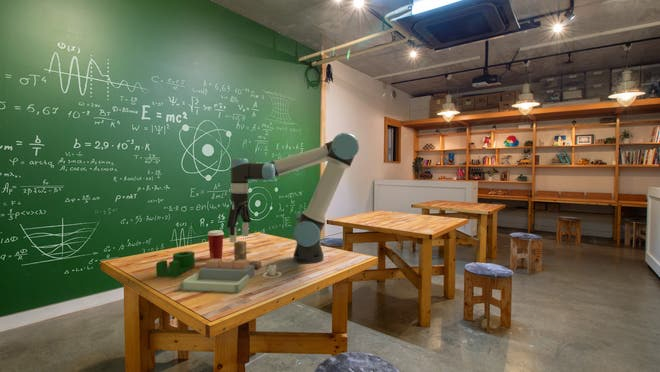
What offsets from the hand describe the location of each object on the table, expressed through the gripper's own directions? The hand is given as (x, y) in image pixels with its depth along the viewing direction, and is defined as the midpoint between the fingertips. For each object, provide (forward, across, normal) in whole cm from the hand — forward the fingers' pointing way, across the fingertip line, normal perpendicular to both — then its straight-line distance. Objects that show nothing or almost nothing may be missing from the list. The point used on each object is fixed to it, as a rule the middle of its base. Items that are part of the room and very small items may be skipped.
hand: (239, 239), depth 147 cm
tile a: (+9, +13, +6) cm, 17 cm away
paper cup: (+14, -12, -17) cm, 25 cm away
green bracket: (+14, +7, -25) cm, 30 cm away
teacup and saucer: (+14, +5, +20) cm, 24 cm away
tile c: (+9, +13, -6) cm, 17 cm away
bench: (+13, +13, +1) cm, 19 cm away
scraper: (+13, 0, +1) cm, 13 cm away
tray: (+13, +23, 0) cm, 27 cm away
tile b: (+9, +13, 0) cm, 16 cm away
